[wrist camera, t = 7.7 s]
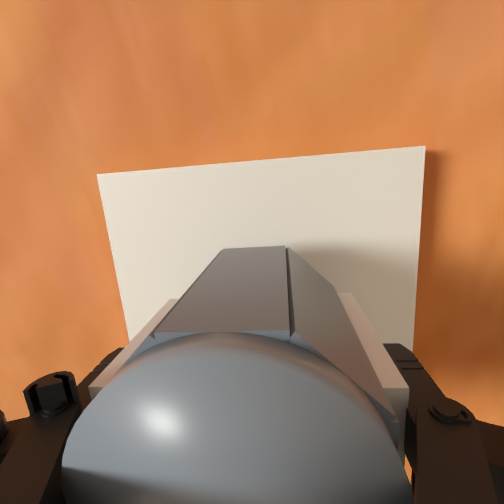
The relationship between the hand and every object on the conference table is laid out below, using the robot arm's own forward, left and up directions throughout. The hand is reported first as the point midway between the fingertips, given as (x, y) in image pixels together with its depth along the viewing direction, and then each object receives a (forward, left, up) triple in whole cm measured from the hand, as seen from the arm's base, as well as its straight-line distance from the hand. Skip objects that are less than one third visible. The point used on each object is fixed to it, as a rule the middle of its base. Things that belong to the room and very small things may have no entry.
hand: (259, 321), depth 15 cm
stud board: (0, 0, -5) cm, 5 cm away
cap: (0, 0, 0) cm, 0 cm away
